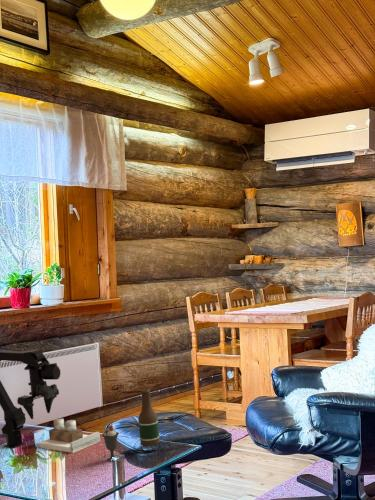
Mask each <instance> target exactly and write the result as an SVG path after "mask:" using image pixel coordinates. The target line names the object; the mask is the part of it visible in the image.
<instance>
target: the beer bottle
mask: <svg viewBox="0 0 375 500" xmlns="http://www.w3.org/2000/svg"><path fill="white" fill-rule="evenodd" d="M150 392H151V391H150V389H148V388H144V389H141V390H140V394H141V411H140V412H139V415H138V429H139V431H138V432H139V440H140V446H141V445H143V446H151V445H154V444H158V443H159V442H160V443H161V438H160V430H159V429H160V428H159V427H160V425H159V419H158V415H157V413H156V411H155V410H154V409H153V406H152V399H151V393H150Z"/></svg>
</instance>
